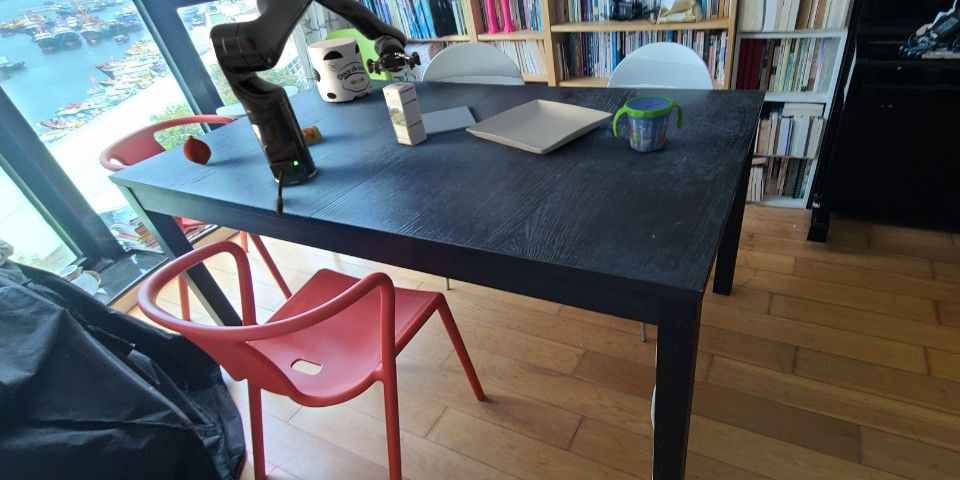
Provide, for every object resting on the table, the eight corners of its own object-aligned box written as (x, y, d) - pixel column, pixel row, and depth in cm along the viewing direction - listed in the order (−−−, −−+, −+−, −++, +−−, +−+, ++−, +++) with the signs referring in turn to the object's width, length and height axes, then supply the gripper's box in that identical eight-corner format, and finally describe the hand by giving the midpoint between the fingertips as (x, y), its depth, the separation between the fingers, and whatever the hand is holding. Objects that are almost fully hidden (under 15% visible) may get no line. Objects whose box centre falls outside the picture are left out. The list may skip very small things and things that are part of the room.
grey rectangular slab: (477, 126, 132) (477, 124, 131) (426, 135, 129) (426, 133, 129) (467, 107, 146) (467, 105, 145) (421, 116, 143) (420, 114, 143)
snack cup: (615, 158, 107) (616, 113, 101) (610, 140, 116) (610, 98, 109) (686, 153, 106) (691, 107, 100) (675, 135, 115) (679, 92, 109)
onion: (199, 171, 123) (182, 141, 118) (187, 167, 126) (171, 138, 121) (221, 162, 127) (205, 132, 122) (209, 158, 129) (194, 130, 125)
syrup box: (428, 138, 128) (414, 82, 119) (412, 146, 124) (397, 89, 115) (412, 135, 130) (398, 80, 122) (396, 143, 126) (381, 87, 118)
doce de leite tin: (366, 105, 157) (349, 46, 147) (315, 109, 158) (294, 51, 148) (381, 89, 171) (366, 35, 160) (334, 93, 172) (316, 39, 161)
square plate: (614, 126, 123) (615, 111, 120) (543, 165, 108) (541, 148, 105) (538, 109, 139) (536, 96, 136) (466, 141, 123) (463, 126, 121)
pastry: (291, 151, 129) (286, 137, 126) (284, 145, 133) (279, 132, 131) (326, 140, 133) (321, 127, 131) (318, 135, 137) (313, 122, 135)
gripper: (363, 45, 135) (363, 57, 123) (414, 37, 138) (418, 48, 125) (371, 73, 140) (371, 87, 127) (420, 65, 142) (425, 78, 130)
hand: (394, 68), depth 126 cm, fingers open, 8 cm apart
